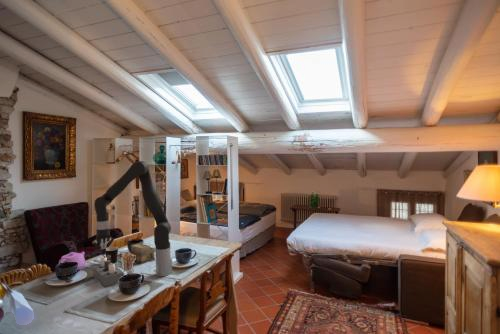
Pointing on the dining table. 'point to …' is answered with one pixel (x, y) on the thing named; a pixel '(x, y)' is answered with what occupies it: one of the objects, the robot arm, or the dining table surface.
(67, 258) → the teapot
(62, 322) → the dining table surface
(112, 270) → the knob
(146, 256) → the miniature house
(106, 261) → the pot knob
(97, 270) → the console
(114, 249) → the coffee mug
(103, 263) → the knob
